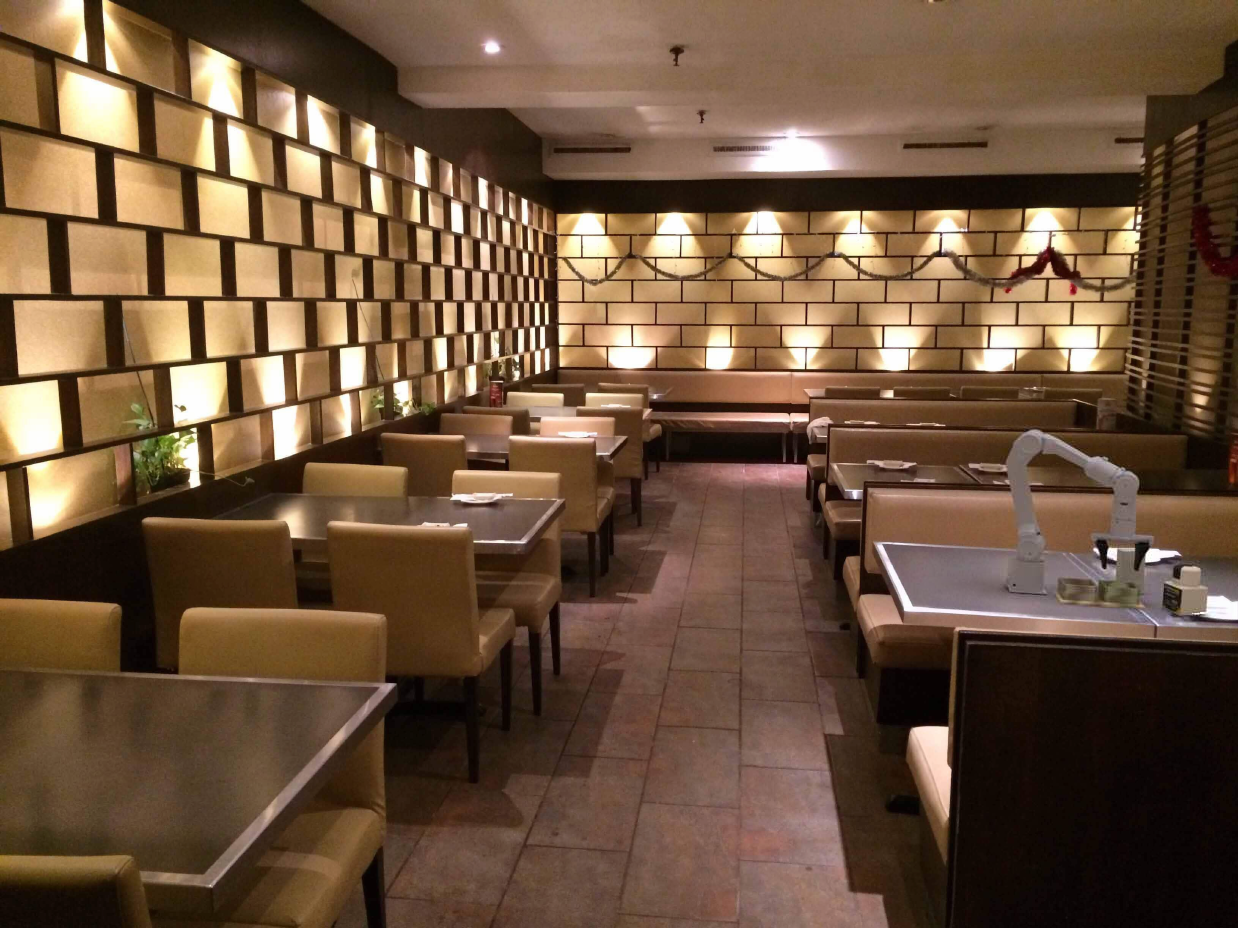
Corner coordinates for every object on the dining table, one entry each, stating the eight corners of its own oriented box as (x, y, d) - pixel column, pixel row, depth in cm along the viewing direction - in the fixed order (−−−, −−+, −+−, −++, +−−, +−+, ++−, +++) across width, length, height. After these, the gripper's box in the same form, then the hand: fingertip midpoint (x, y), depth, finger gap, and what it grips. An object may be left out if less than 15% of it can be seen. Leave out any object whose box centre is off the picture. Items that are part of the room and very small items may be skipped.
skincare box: (1136, 590, 267) (1139, 548, 266) (1143, 594, 263) (1146, 551, 262) (1113, 590, 268) (1116, 547, 266) (1120, 594, 264) (1123, 550, 262)
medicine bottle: (1161, 608, 250) (1164, 562, 249) (1187, 607, 251) (1191, 562, 249) (1179, 615, 243) (1183, 569, 242) (1206, 615, 244) (1210, 568, 242)
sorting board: (1060, 603, 254) (1061, 586, 253) (1053, 593, 264) (1054, 576, 264) (1145, 609, 249) (1146, 592, 248) (1134, 598, 259) (1135, 581, 259)
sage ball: (1109, 601, 254) (1110, 582, 254) (1105, 596, 259) (1106, 578, 259) (1130, 602, 253) (1131, 583, 252) (1126, 597, 258) (1127, 579, 257)
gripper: (1096, 519, 251) (1093, 570, 253) (1158, 522, 248) (1154, 574, 249) (1090, 514, 258) (1087, 564, 260) (1151, 517, 254) (1147, 568, 256)
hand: (1120, 569), depth 255 cm, fingers open, 7 cm apart
